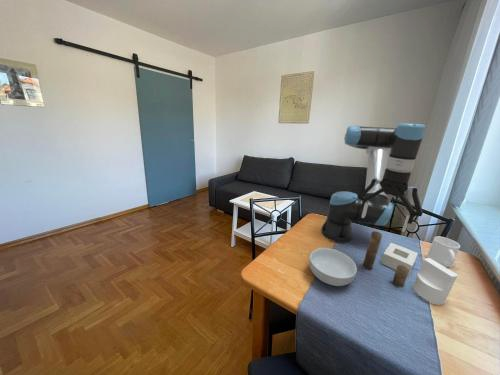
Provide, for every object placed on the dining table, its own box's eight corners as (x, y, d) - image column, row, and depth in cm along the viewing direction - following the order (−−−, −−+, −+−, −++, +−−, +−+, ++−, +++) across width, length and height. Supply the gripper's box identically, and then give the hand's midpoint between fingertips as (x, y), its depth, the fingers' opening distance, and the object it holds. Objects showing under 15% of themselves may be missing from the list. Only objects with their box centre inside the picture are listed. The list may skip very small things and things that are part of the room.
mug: (460, 276, 82) (470, 255, 78) (435, 270, 84) (444, 249, 81) (445, 258, 92) (453, 238, 89) (423, 253, 95) (430, 234, 91)
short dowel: (391, 283, 77) (396, 268, 74) (393, 278, 79) (398, 263, 77) (402, 288, 74) (407, 273, 72) (404, 283, 77) (409, 268, 74)
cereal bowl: (330, 300, 68) (334, 284, 66) (298, 268, 82) (300, 254, 80) (362, 283, 76) (367, 268, 73) (328, 257, 90) (331, 243, 87)
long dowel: (361, 266, 85) (370, 233, 79) (364, 262, 87) (373, 230, 82) (370, 270, 82) (380, 237, 77) (373, 267, 85) (383, 234, 79)
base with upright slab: (451, 301, 70) (465, 273, 66) (432, 307, 67) (446, 278, 63) (423, 281, 78) (434, 256, 74) (406, 286, 75) (416, 260, 71)
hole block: (380, 262, 87) (383, 253, 86) (388, 251, 95) (391, 242, 93) (408, 276, 81) (412, 265, 79) (414, 262, 88) (418, 253, 87)
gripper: (356, 164, 76) (345, 214, 83) (445, 180, 60) (422, 241, 67) (363, 161, 81) (352, 209, 88) (446, 175, 65) (424, 232, 72)
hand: (382, 223), depth 78 cm, fingers open, 13 cm apart
